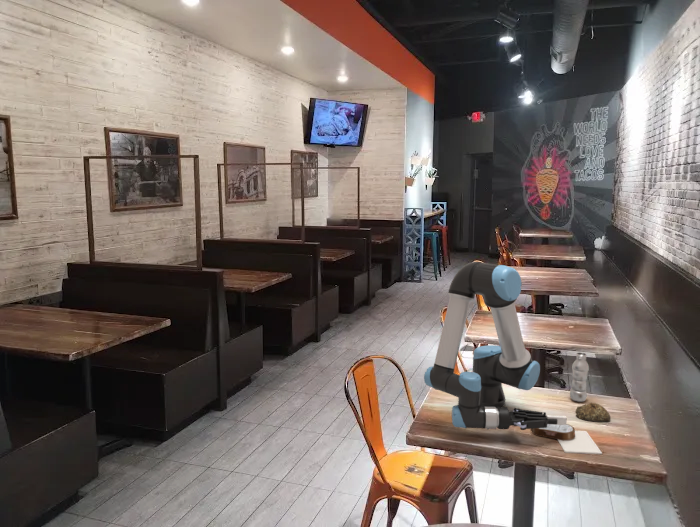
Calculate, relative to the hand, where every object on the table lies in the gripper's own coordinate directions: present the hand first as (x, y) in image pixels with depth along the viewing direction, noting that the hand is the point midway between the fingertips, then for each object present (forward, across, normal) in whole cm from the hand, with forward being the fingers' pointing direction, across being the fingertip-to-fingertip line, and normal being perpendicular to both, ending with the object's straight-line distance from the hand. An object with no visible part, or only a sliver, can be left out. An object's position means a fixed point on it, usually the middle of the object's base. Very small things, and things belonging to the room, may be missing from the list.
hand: (565, 420), depth 193 cm
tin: (-5, -1, -6) cm, 8 cm away
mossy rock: (+17, -23, -8) cm, 30 cm away
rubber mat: (+4, 0, -8) cm, 9 cm away
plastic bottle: (+16, -37, -8) cm, 41 cm away
